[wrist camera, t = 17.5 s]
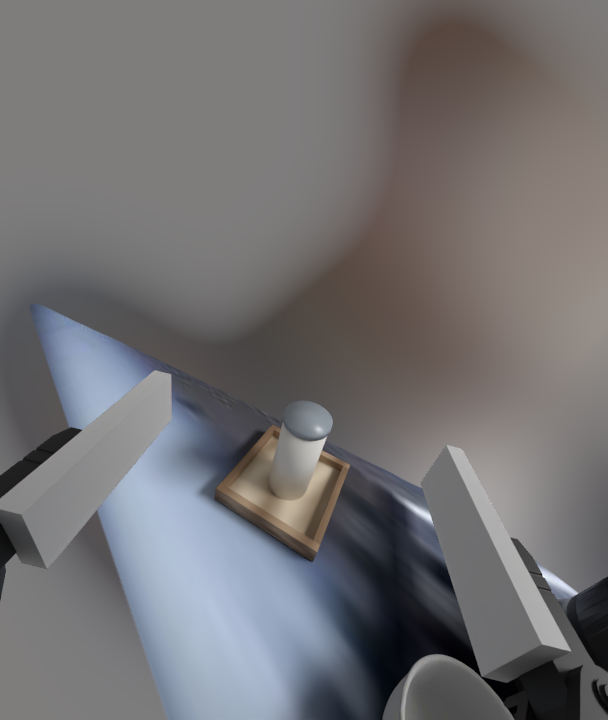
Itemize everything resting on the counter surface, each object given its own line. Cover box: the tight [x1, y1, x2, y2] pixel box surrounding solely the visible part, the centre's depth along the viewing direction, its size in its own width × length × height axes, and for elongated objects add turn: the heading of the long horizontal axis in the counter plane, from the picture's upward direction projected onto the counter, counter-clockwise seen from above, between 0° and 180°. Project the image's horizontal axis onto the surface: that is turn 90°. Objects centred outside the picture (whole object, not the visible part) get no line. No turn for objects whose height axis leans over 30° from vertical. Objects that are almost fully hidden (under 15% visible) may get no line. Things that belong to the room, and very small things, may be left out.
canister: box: [269, 401, 333, 501], centre depth 40 cm, size 7×7×14 cm
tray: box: [215, 425, 350, 562], centre depth 43 cm, size 16×16×2 cm
